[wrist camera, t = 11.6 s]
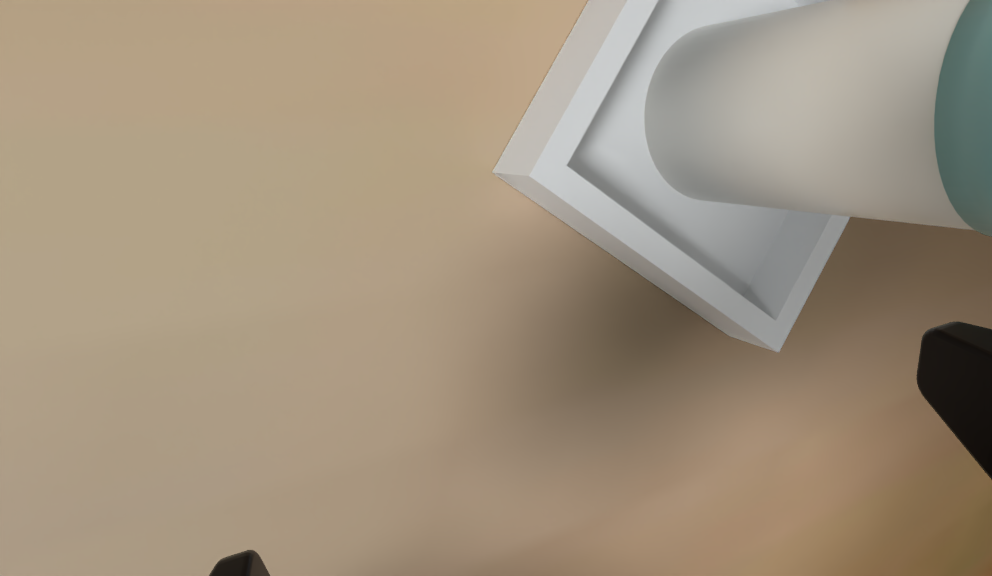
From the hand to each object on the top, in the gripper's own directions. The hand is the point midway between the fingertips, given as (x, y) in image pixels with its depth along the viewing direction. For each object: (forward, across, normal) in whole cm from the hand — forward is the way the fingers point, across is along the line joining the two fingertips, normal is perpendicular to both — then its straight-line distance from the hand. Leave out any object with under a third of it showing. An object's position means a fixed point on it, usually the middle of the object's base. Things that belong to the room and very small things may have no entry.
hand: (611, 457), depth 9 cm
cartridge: (+14, -9, +1) cm, 16 cm away
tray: (+14, -9, +2) cm, 17 cm away
